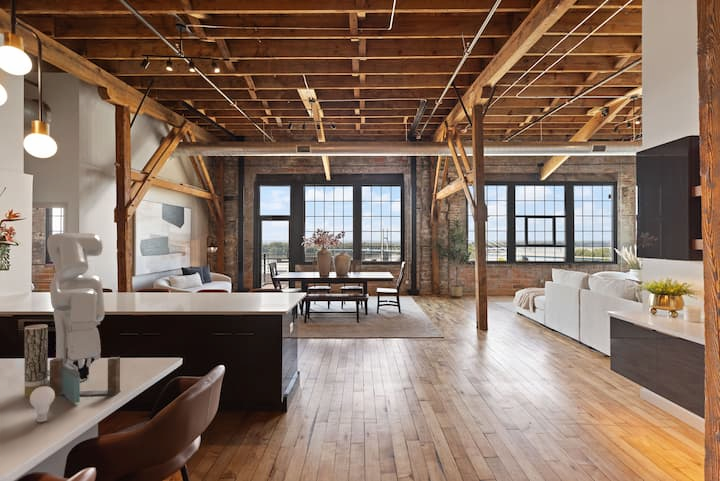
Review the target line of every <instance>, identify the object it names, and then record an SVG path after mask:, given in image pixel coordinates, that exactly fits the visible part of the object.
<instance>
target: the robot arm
mask: <svg viewBox="0 0 720 481" xmlns="http://www.w3.org/2000/svg"><path fill="white" fill-rule="evenodd" d="M46 246H47V252H48V255H49V257H50V260H51V262H52V264H53V265H54V270H55V274H54V276H53V277H52V279H51V282H50V285H49V293H50V302H51V307H52V309H53V319H54V325H55V336H56V337H55V342H56V344H55V350H56V352H55V358H63V364H68V365H69V366H70V367H72V368H73V369H75V370H76V371H78V372H79V373H80V383H81V382H83V381H87V380H88V379H89V378H90V367H91V365H92V363H94V362H95V361H97V360H99V359H101V358H102V357H101V351H102V350H101V347H102V346H101V338H100V332H99V329H98V328H97V327H98V325H99V326H100V325H101V322H102V321H103V320H104V318H105V314H106V313H105V312H106V310H105V302H104V292H103V284H102V283H103V282H102V280H101V278H100V277H99V276H97V275H95V274H89V275H87V274H86V273H87V272H88V270H89V263H88V262H89V260H88V257H96V256H97V257H99V256H100V255H102V252H103V247H104V246H103V240H102V239H101V237H100V236H99V235H97V234H96V233H90V232H89V233H87V232H81V233H80V232H59V233H54V234H51V235H49V236H48V238H47V241H46ZM48 377H50V369H48Z"/></svg>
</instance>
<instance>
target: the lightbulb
mask: <svg viewBox="0 0 720 481" xmlns="http://www.w3.org/2000/svg"><path fill="white" fill-rule="evenodd" d="M55 398H56V397H55V392H54V390H53V389H52V388H51V387H50V386H41V387H38V388H36V389H35V390H34V391H33V392H32V393H31V395H30V398H29V403H30V404H31V406H32V407H34V409H35V413H36V415H37V419H36V420H37V422H38V423H41V424H42V423H45V422H47V421H48V420H49V418H48V417H49V415H48V414H49V413H48V412H49V410H50V407H51V405H52V404H53V402H54V400H55Z"/></svg>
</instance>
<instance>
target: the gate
mask: <svg viewBox="0 0 720 481" xmlns="http://www.w3.org/2000/svg"><path fill="white" fill-rule="evenodd" d="M80 383H81V382H80V373H79V372H78V371H76V370H75V369H73V368H72V367H70V366H69V365H68V364H63V365H62V393H63V394H64V395H65V396H66V397H65V398H67V399H68V400H70V401H71V402H72V403H73V404H77V403H80V402H81V401H80V398H81V396H80V391H81V390H80V389H81V388H80V387H81V386H80V385H81V384H80Z"/></svg>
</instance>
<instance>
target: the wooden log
mask: <svg viewBox="0 0 720 481" xmlns="http://www.w3.org/2000/svg"><path fill="white" fill-rule="evenodd" d="M48 328H49V327H48V324H43V323H41V324H40V323H39V324H31V325H27V326H26V325H25V327H24V382H23V383H24V396H25V398H29V399H30V395H31V393H32V392H33V391H34V390H35V389H36V388H38V387H41V386H48V383H49V381H48V377H49V376H48V370H49V369H48V368H49V366H48V363H49V362H48V358H49V357H48V355H49V354H48V352H49V351H48V349H49V348H48V347H49V346H48V344H49V343H48V342H49V340H48V339H49V338H48V335H49V334H48V332H49V330H48ZM48 387H49V386H48Z"/></svg>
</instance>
